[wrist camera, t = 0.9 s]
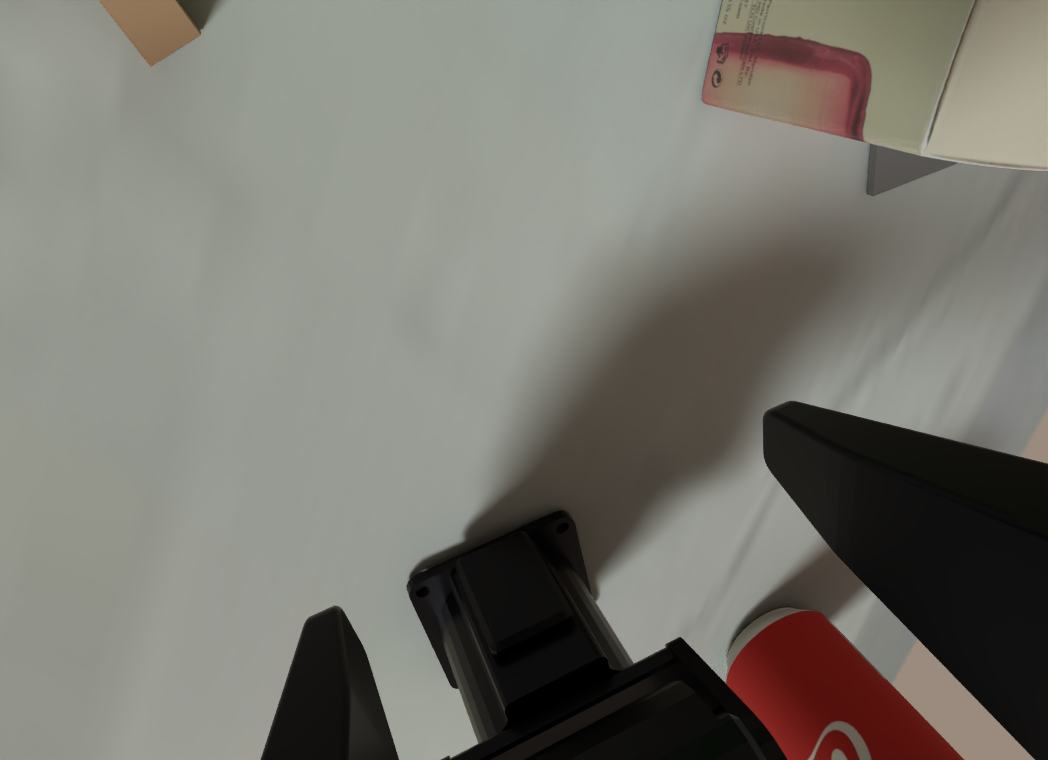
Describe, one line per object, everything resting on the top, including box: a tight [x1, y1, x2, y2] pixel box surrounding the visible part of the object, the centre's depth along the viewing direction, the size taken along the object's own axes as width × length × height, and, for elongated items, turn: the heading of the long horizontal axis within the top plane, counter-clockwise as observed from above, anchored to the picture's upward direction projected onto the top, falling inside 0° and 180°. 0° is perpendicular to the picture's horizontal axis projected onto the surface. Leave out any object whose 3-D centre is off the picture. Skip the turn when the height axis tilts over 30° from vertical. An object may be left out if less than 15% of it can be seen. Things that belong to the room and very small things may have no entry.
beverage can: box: [726, 607, 964, 760], centre depth 32 cm, size 6×6×12 cm
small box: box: [702, 0, 1048, 171], centre depth 17 cm, size 5×4×8 cm
